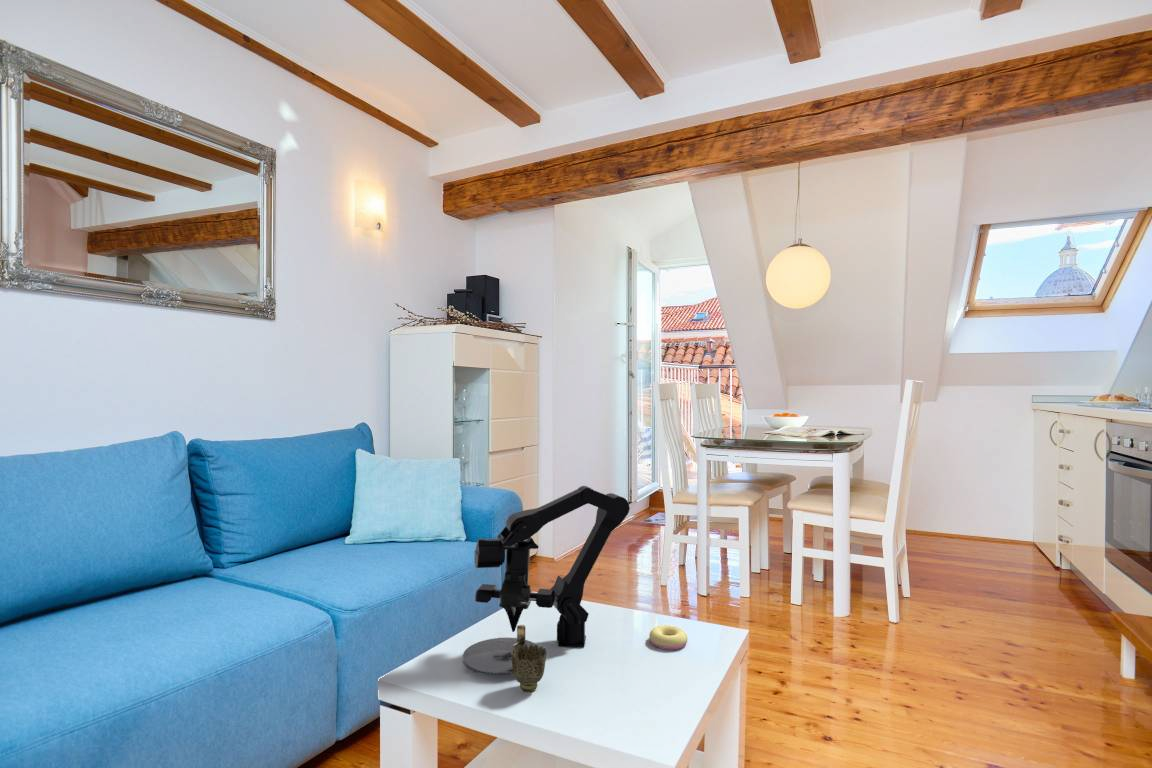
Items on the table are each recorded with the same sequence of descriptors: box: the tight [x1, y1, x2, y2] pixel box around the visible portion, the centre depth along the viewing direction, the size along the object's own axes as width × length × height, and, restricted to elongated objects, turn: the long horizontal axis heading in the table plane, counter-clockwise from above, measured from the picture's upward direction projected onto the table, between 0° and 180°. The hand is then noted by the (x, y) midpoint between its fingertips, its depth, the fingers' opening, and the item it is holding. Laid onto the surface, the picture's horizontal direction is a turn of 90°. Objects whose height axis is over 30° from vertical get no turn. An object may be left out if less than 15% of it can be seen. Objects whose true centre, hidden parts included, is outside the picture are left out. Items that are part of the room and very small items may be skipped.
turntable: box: [462, 624, 541, 676], centre depth 138 cm, size 18×18×4 cm
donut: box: [648, 624, 689, 650], centre depth 150 cm, size 10×5×9 cm
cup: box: [511, 644, 547, 693], centre depth 126 cm, size 8×7×8 cm
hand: (513, 631), depth 146 cm, fingers closed
